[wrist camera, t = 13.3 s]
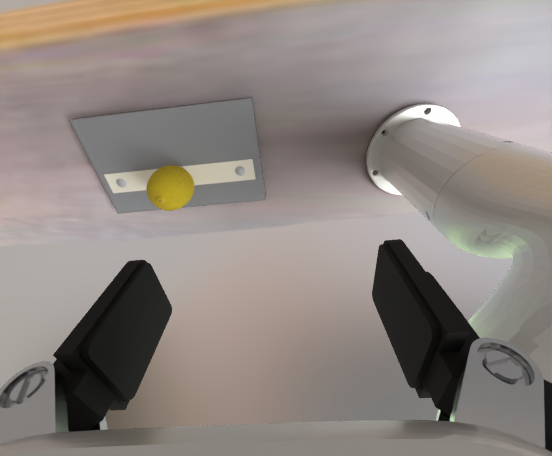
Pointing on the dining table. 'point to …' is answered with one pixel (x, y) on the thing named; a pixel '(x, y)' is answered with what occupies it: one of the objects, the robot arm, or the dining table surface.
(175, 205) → the lemon
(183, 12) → the dining table surface
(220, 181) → the strip
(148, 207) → the panel
